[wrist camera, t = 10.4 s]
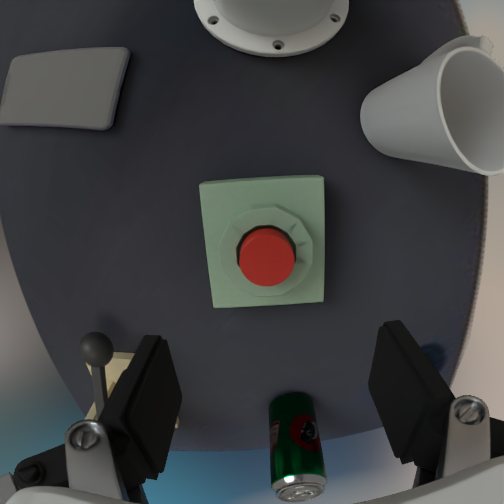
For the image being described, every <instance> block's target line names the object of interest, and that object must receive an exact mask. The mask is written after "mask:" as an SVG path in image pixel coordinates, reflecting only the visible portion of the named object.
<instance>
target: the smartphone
mask: <svg viewBox="0 0 504 504" xmlns="http://www.w3.org/2000/svg"><path fill="white" fill-rule="evenodd" d="M130 55H131V53H130V51H129V50H128V49H127V48H124V47H99V48H80V49H67V50H57V51H48V52H41V53H34V54H28V55H22V56H17V57H15V58H14V59H13V60H12V62H11V64H10V68H9V71H8V75H7V79H6V83H5V87H4V92H3V96H2V101H1V106H0V124H1V125H7V126H46V127H65V128H79V129H91V130H102V131H103V130H107V129H109V128H110V127H111V126H112V125H113V121H114V117H115V112H116V108H117V103H118V99H119V95H120V91H121V87H122V83H123V79H124V75H125V72H126V68H127V65H128V61H129V58H130Z"/></svg>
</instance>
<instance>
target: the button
mask: <svg viewBox="0 0 504 504" xmlns="http://www.w3.org/2000/svg"><path fill="white" fill-rule="evenodd" d="M294 262H295V259H294V253H293V250H292V247H291V245H290V242H289V240H288V239H287V238H286V236H285V235H283V234H282V233H281V232H279V231H277V230H274V229H269V228H264V229H259V230H256V231H254V232H252V233H251V234H249V235H248V236H247V237H246V239H245V240H244V242H243V244H242V246H241V251H240V258H239V264H240V268H241V271H242V273H243V274H244V276H245V277H246V278H247V279H248V280H249V281H250V282H252V283H254V284H256V285H259V286H274V285H277V284H280V283H281V282H283V281H284V280H286V279H287V278H288V276H289V275H290V274H291V272H292V270H293V267H294Z"/></svg>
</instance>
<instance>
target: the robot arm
mask: <svg viewBox="0 0 504 504" xmlns="http://www.w3.org/2000/svg"><path fill="white" fill-rule="evenodd" d="M194 5H195V9H196V12H197V14H198V17H199V19H200V20H201V22H202V24H203V25H204V27H205V28H206V29H207V30H208V31H209V32H210V33H211V34H212V36H214V37H215V38H216V39H218V40H219V41H221V42H222V43H223V44H225V45H227V46H229V47H231V48H234V49H236V50H238V51H241V52H245V53H248V54H251V55H258V56H264V57H287V56H294V55H299V54H303V53H306V52H310V51H312V50H314V49H316V48H318V47H320V46H322V45H324V44H325V43H327V42H328V41H329V40H330V39H332V38H333V37H334V36H335V34H336V33H337V32H338V31H339V30H340V28H341V27H342V25H343V24H344V22H345V20H346V17H347V14H348V11H349V0H194ZM332 20H334V21H335V22H333V21H332ZM214 22H217V24H215V25H212V23H214ZM275 46H279V47H280V48H281V49H280V50H277V49H275V48H274V47H275ZM368 386H369V391H370V393H371V396H372V398H373V401H374V403H375V406H376V408H377V411H378V413H379V416H380V419H381V421H382V424H383V426H384V429H385V432H386V434H387V437H388V440H389V442H390V445H391V447H392V450H393V453H394V455H395V457H396V458H400V460H401V463H402V464H406V463H409V462H412V461H414V464H415V465H416V466H417V471H416V475H415V479H414V484H413V488H412V489H409V490H407V491H403V492H400V493H396V494H392V495H389V496H385V497H381V498H377V499H373V500H369V501H364V502H360V503H355V504H504V421H501V420H498V419H495V418H491V417H489V410H488V407H487V405H486V404H485V403H484V402H483V401H482V400H481V399H479V398H477V397H475V396H471V395H463V396H460V397H458V398H455V397H454V395H453V393H452V392H451V390H450V389H449V387H448V386H447V384H446V383H445V381H444V380H443V378H442V377H441V375H440V374H439V372H438V371H437V369H436V368H435V366H434V365H433V364H432V362H431V361H430V359H429V358H428V356H427V355H426V354H425V353H424V352H423V351H422V349H421V348H420V346H419V345H418V344H417V342H416V341H415V339H414V338H413V337H412V335H411V334H410V333H409V331H408V330H407V328H406V327H405V326H404V324H403V323H402V322H401V321H400V320H395V321H388V322H385V323H384V324H383V326H381V327H379V330H378V336H377V342H376V347H375V353H374V358H373V363H372V368H371V372H370V377H369V382H368ZM181 402H182V393H181V390H180V386H179V383H178V379H177V376H176V372H175V369H174V365H173V362H172V358H171V354H170V350H169V346H168V343H167V340H163V339H162V337H161V336H160V335H145V336H144V337H143V339H142V341H141V343H140V345H139V346H138V348H137V350H136V352H135V354H134V356H133V358H132V359H131V361H130V363H129V365H128V367H127V369H125V370H123V372H122V373H121V375H120V377H119V379H118V381H117V383H116V385H115V386H114V388H113V390H112V392H111V394H110V396H109V398H108V400H107V402H106V404H105V406H104V408H103V410H102V412H101V414H100V416H99V418H98V420H97V421H96V420H91V419H86V420H81V421H78V422H76V423H74V424H73V425H71V427H70V428H69V429H68V430H67V433H66V434H65V444H62V445H60V446H57V447H55V448H53V449H50V450H47V451H45V452H42V453H40V454H38V455H34V456H32V457H29V458H26V459H24V460H23V461H21V462H20V463H19V464H18V465H17V467H16V468H15V472H14V475H12V474H11V473H10V472H9V473H8V474H5V475H3V476H1V477H0V504H149V503H148V500H147V498H146V495H145V492H144V490H143V487H142V484H143V483H145V480H146V478H147V479H154V480H157V477H158V474H159V473H162V472H163V471H164V468H165V464H166V460H167V456H168V452H169V448H170V444H171V440H172V436H173V432H174V429H175V425H176V421H177V417H178V413H179V409H180V406H181Z"/></svg>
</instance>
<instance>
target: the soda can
mask: <svg viewBox="0 0 504 504" xmlns="http://www.w3.org/2000/svg"><path fill="white" fill-rule="evenodd" d="M268 410H269V438H270V468H271V488H272V490H273V491H274V492H275V493H276V494H275V495H276V498H278V499H279V500H281V501H286V502H302V501H307V500H311V499H314V498H316V497H318V496H320V495H321V494H323V492H324V486H325V484H326V482H327V476H326V470H325V465H324V459H323V453H322V448H321V442H320V437H319V431H318V426H317V421H316V415H315V410H314V405H313V402H312V400H311V399H310V398H309V397H307V396H305V395H303V394H300V393H286V394H283V395H281V396H279V397H277V398H276V399H274V400H273V401H272V402H271V404H270V405H269V409H268Z"/></svg>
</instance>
